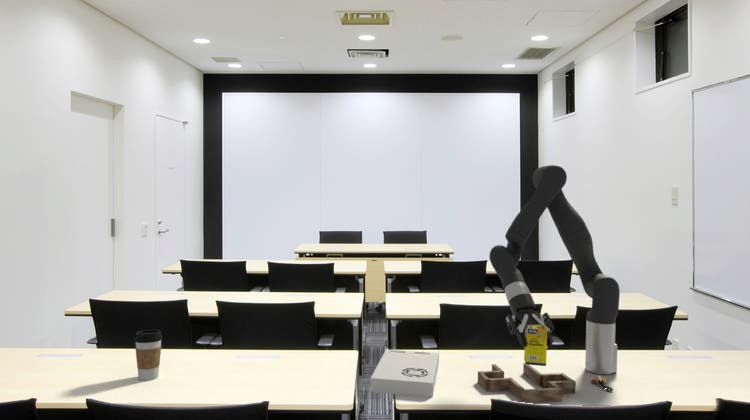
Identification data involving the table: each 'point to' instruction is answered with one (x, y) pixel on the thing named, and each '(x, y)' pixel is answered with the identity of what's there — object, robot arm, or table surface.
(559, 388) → the trap lane
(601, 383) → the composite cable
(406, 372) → the white flat box
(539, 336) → the supplement box
